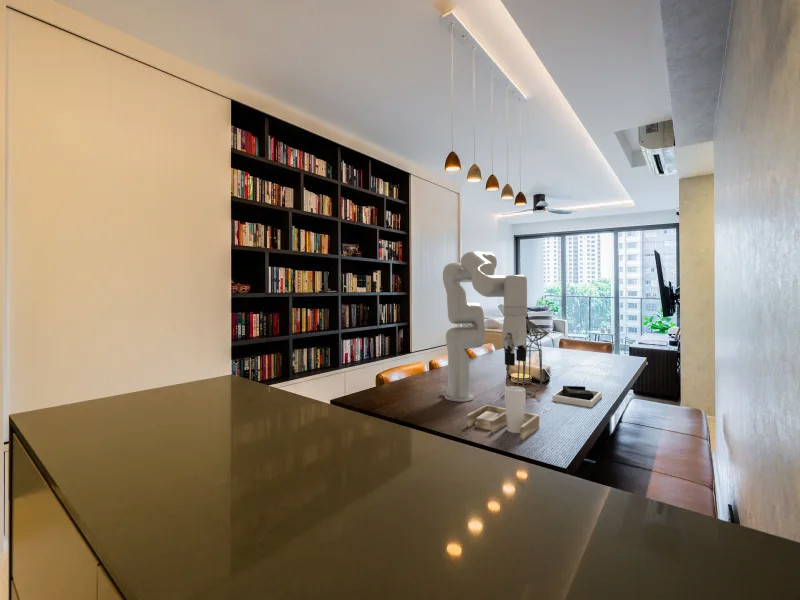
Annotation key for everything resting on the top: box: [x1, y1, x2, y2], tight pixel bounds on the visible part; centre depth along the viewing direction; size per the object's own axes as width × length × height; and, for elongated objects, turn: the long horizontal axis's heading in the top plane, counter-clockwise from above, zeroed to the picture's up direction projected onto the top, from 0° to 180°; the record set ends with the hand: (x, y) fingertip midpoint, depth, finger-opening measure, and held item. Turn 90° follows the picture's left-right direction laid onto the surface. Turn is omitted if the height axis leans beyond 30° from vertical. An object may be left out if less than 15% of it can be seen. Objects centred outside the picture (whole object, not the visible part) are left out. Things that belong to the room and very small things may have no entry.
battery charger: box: [562, 385, 594, 401], centre depth 171 cm, size 13×10×4 cm
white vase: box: [504, 385, 527, 434], centre depth 132 cm, size 7×7×15 cm
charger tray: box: [551, 387, 603, 408], centre depth 171 cm, size 16×19×2 cm
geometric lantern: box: [502, 319, 550, 399], centre depth 176 cm, size 16×16×35 cm
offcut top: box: [476, 411, 500, 425], centre depth 138 cm, size 5×9×2 cm, turn 146°
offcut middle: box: [474, 422, 491, 431], centre depth 138 cm, size 6×10×2 cm, turn 144°
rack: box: [466, 404, 540, 441], centre depth 135 cm, size 20×15×5 cm
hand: (515, 363), depth 131 cm, fingers open, 9 cm apart
